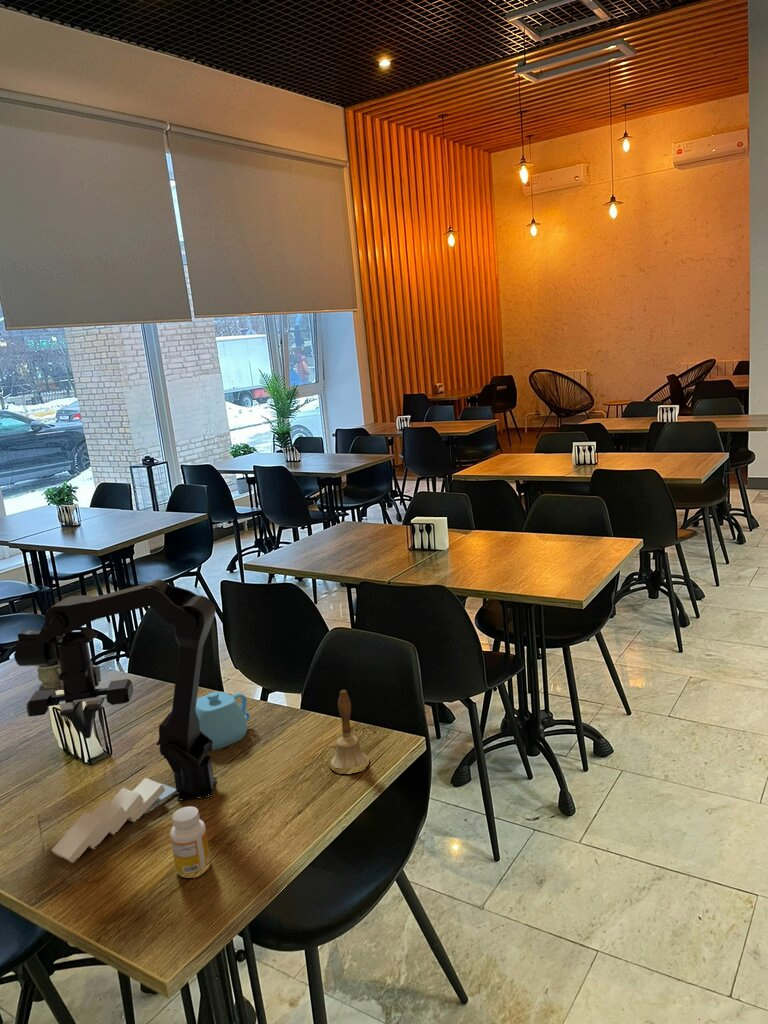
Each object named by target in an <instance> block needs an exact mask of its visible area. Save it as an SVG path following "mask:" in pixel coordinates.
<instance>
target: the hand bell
mask: <svg viewBox="0 0 768 1024" xmlns="http://www.w3.org/2000/svg"><path fill="white" fill-rule="evenodd" d="M337 707H338V708H337V709H338V713H339V717H340V718H341V725H342V726H341V728H342V730H341V732H342V733H341V735H342V736H340V737H338V738H337V740H336V745H335V754H334V756H333V757H332V758H333V759H332V758H331V760H330V761H331V765H332V766H333V767H335V768H339V769H340V768H341V769H348V768H353V767H357V766H360V765H361V764H363V763H364V762H366V760H367V756H368V755H367V754H365V753H364V752H363V751H362V749H361V745H360V741H359V738H358V736H356V735H353V734H352V730H351V721H350V718H351V714H352V713H351V712H352V701H351V699H350V696H349V694H348V691H347V690H346V689H342V690H340V691H339V697H338V700H337ZM366 755H367V756H366Z"/></svg>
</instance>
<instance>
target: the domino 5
mask: <svg viewBox="0 0 768 1024" xmlns="http://www.w3.org/2000/svg"><path fill="white" fill-rule="evenodd" d="M159 783H160V784H162V785H163V787H164V789H165V791H164V792H163V793H162V794H161V795H160V797H159V798H158V799H157V800H156V801H155V802H154V803H153V804H152V805H151V806H150V807H149V808H148V809H147V810H146V811H145V812H144V814H145V813H146V812H148V811H149V810H150V809H152V808H154V807H155V806H157V805H159V804H160V803H161V802H163V801H165V800H166V799H168V798H169V797H171V796H172V795H174V794H175V793H176V787H175V788H174V787H172V786H170V785H166V784H164V783H161V782H159Z"/></svg>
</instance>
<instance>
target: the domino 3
mask: <svg viewBox="0 0 768 1024" xmlns="http://www.w3.org/2000/svg"><path fill="white" fill-rule="evenodd" d="M143 800H144V799H143V797H142V796H141V794H139V793H136V792H133V790H130V789H127V788H125V787H122V788H121V789H120V790H119V791H118V792H117V794H116V795H115V796H114V797H113V798H112V799H111V801H110V802H111V803H114V804H117V805H119V806H122V807H123V809H124V810H125V814H124V815H123V816H122V817H121V818H120V820H119V821H118V822H117V823H116V824H115V826H114V827H113V828H112V829H111V830H110V832H109V833H110V834H114V833H116V832H117V833H118V832H119V830H120V829H121V828H122V827H123V826H124V824H125V823H126V822H127V821H128V820H127V819H128V818H129V817H130V816H131V814H132V813H133V812H134V811H135V810H136V808H137V807H138V806H139V805H140V804H141V802H142V801H143ZM117 833H116V834H117ZM110 834H109V835H110Z"/></svg>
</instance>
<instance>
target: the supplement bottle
mask: <svg viewBox="0 0 768 1024" xmlns="http://www.w3.org/2000/svg"><path fill="white" fill-rule="evenodd" d="M171 818H172V824H173V826H172V827H171V829H170V833H169V836H170V843H171V847H172V853H173V854H172V855H173V859H174V860H173V861H174V867H175V871H176V870H177V871H178V872H179V873H183V874H187V873H188V874H189V873H193V872H197V871H199V870H201V869H203V868H204V867H206V866H207V865H208V863H209V862H210V860H211V856H210V855H211V854H210V849H209V840H208V833H207V829H206V827H207V826H206V823H205V822H204V821H203V820H202V819H200V812H199V809H198V808H197V807H195V806H184V807H181V808H179V809H177V810H176V811H174V812H173V814H172V817H171Z"/></svg>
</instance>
